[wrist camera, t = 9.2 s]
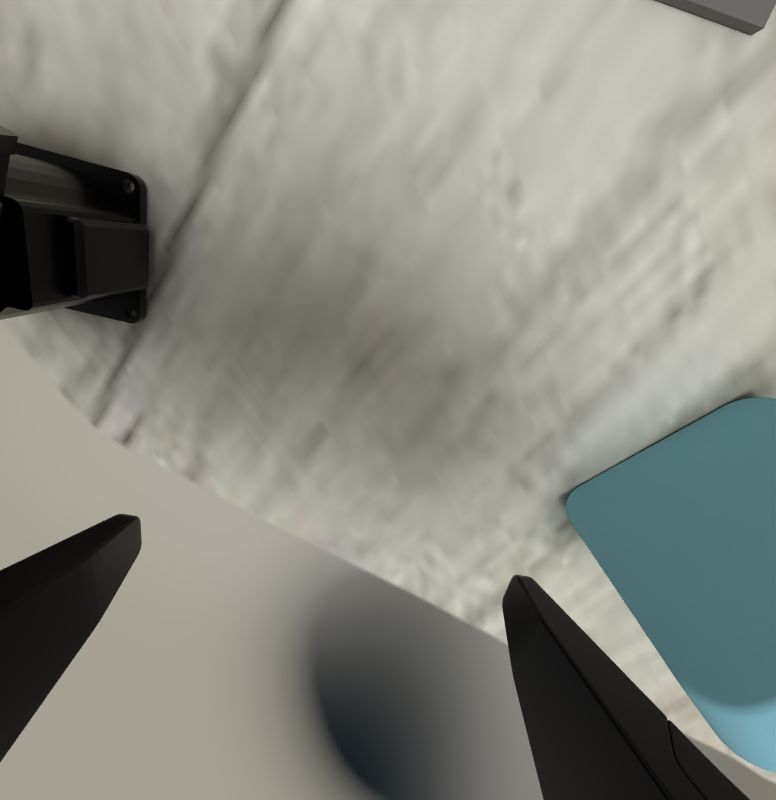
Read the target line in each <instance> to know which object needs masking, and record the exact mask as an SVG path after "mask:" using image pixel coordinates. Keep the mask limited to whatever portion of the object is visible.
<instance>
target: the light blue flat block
mask: <svg viewBox="0 0 776 800" xmlns="http://www.w3.org/2000/svg"><path fill="white" fill-rule="evenodd" d="M566 514H567V516H568V518H569V520H570V521H571V523H572V524H573V526H574V527H575V529H576V530H577V532H578V533H579V535H580V536H581V538H582V539H583V541H584V542H585V544H586V545H587V547H588V548H589V550H590V551H591V553H592V554H593V556H594V557H595V559H596V560H597V562H598V563H599V565H600V566H601V568H602V569H603V571H604V572H605V574H606V575H607V577H608V578H609V580H610V581H611V583H612V584H613V586H614V587H615V589H616V590H617V592H618V593H619V594H620V596H621V597H622V599H623V600H624V602H625V603H626V605H627V606H628V608H629V609H630V611H631V612H632V614H633V615H634V617H635V618H636V620H637V621H638V623H639V624H640V626H641V627H642V629H643V630H644V632H645V633H646V635H647V636H648V638H649V639H650V641H651V642H652V644H653V645H654V647H655V648H656V650H657V651H658V653H659V654H660V656H661V657H662V659H663V660H664V662H665V663H666V665H667V666H668V668H669V669H670V671H671V672H672V674H673V675H674V677H675V678H676V680H677V681H678V682H679V684H680V685H681V686H682V688H683V689H684V691H685V692H686V693H687V695H688V696H689V698H690V699H691V700H692V702H693V703H694V705H695V706H696V707H697V709H698V710H699V711H700V713H701V714H702V716H703V717H704V718H705V720H706V721H707V723H708V724H709V725H710V727H711V728H712V730H713V731H714V732H715V734H716V735H717V736H718V737H719V738H720V740H721V741H722V742H723V743H724V744H725V745H726V746H727V747H728V748H729V749H731V750H732V751H733V752H734V753H736V754H737V755H738V756H740V757H741V758H743V759H744V760H746V761H748V762H749V763H751V764H753V765H755V766H758V767H760V768H762V769H766V770H769V771H773V772H776V399H772V398H747V399H742V400H738V401H735V402H732V403H729V404H727V405H725V406H723V407H721V408H719V409H718V410H716V411H714V412H712V413H710V414H709V415H707V416H705V417H703V418H701V419H700V420H698V421H696V422H694V423H692V424H690V425H689V426H687V427H685V428H683V429H681V430H680V431H678V432H676V433H674V434H672V435H671V436H669V437H667V438H665V439H663V440H662V441H660V442H658V443H656V444H654V445H653V446H651V447H649V448H647V449H645V450H644V451H642V452H640V453H638V454H636V455H635V456H633V457H631V458H629V459H627V460H626V461H624V462H622V463H620V464H618V465H617V466H615V467H613V468H611V469H609V470H608V471H606V472H604V473H602V474H600V475H598V476H597V477H595V478H593V479H591V480H589V481H588V482H586V483H584V484H582V485H580V486H579V487H577V488H576V489H575V490H574V491H573V492H572V493H571V494H570V496H569V497H568V499H567V502H566Z"/></svg>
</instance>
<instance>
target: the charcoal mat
mask: <svg viewBox="0 0 776 800" xmlns="http://www.w3.org/2000/svg"><path fill="white" fill-rule="evenodd" d="M657 1H660V2H663V3H665V4H668V5H671V6H674V7H676V8H679V9H682V10H685V11H687V12H690V13H693V14H696V15H698V16H701V17H704V18H707V19H709V20H712V21H715V22H718V23H720V24H723V25H726V26H729V27H731V28H734V29H737V30H740V31H742V32H745V33H748V34H751V35H753V34H754V33H756V32H758V31H760V30H761V29H763V28H764V27H765V25H766V23H767V20H768V18H769V16H770V14H771V12H772V10H773V8H774V6H775V4H776V0H657Z"/></svg>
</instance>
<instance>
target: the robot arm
mask: <svg viewBox="0 0 776 800" xmlns="http://www.w3.org/2000/svg"><path fill="white" fill-rule="evenodd" d="M17 139H18V136H17V135H16V134H15V133H13V132H11V131H9V130H8V129H6V128H4V127H2V126H0V320H1V319H6V318H12V317H17V316H22V315H27V314H32V313H38V312H43V311H48V310H53V309H58V308H68V309H72V310H76V311H80V312H85V313H89V314H93V315H98V316H102V317H106V318H110V319H115V320H119V321H123V322H127V323H136V322H139V321H142V320H143V319H144V318H145V287H147V286H148V264H149V232H148V230H147V228H146V188H145V184H144V183H143V181H142V180H141V179H140V178H139V177H138V176H136V175H134V174H131V173H127V172H123V171H120V170H116V169H112V168H109V167H105V166H101V165H98V164H94V163H90V162H87V161H83V160H79V159H75V158H72V157H68V156H64V155H61V154H57V153H53V152H50V151H46V150H42V149H39V148H35V147H31V146H28V145H24V144H20V143H17ZM130 181H132V182H133V184H134V191H133V192H130V190H129V188H128V183H129V182H130ZM130 308H132V309H133V310H134V311H135V317H134V316H132V315H131V314H130V311H129V310H130ZM140 549H141V524H140V519H139V517H137V516H133V515H127V514H118V515H115V516H113V517H111V518H109V519H107V520H105V521H103V522H101V523H98V524H96V525H94V526H92V527H90V528H88V529H86V530H84V531H82V532H80V533H78V534H76V535H73V536H71V537H69V538H67V539H65V540H63V541H61V542H59V543H57V544H55V545H52V546H50V547H48V548H46V549H44V550H42V551H40V552H38V553H36V554H34V555H32V556H29V557H27V558H25V559H24V560H22V561H19V562H17V563H15V564H13V565H11V566H9V567H7V568H4V569H2V570H0V762H1V761H2V759H3V758H4V756H5V755H6V753H7V752H8V750H9V749H10V748H11V746H12V745H13V744H14V742H15V741H16V739H17V738H18V736H19V735H20V734H21V732H22V731H23V729H24V728H25V727H26V725H27V724H28V722H29V721H30V719H31V718H32V717H33V715H34V714H35V712H36V711H37V710H38V708H39V707H40V705H41V704H42V702H43V701H44V700H45V698H46V697H47V695H48V694H49V693H50V691H51V690H52V688H53V687H54V685H55V684H56V683H57V681H58V680H59V678H60V677H61V676H62V674H63V673H64V671H65V670H66V668H67V667H68V666H69V664H70V663H71V661H72V660H73V659H74V657H75V656H76V654H77V653H78V651H79V650H80V649H81V647H82V646H83V644H84V643H85V642H86V640H87V639H88V637H89V636H90V635H91V633H92V632H93V630H94V629H95V627H96V626H97V624H98V623H99V621H100V619H101V618H102V616H103V615H104V613H105V611H106V610H107V608H108V606H109V604H110V603H111V601H112V599H113V597H114V596H115V594H116V592H117V591H118V589H119V587H120V585H121V584H122V582H123V580H124V578H125V577H126V575H127V573H128V571H129V570H130V568H131V566H132V564H133V563H134V561H135V559H136V558H137V556H138V554H139V551H140ZM502 608H503V615H504V621H505V628H506V634H507V641H508V648H509V654H510V661H511V666H512V673H513V677H514V681H515V686H516V690H517V694H518V698H519V702H520V706H521V710H522V714H523V718H524V722H525V726H526V730H527V734H528V738H529V742H530V746H531V751H532V754H533V758H534V763H535V767H536V770H537V774H538V778H539V783H540V787H541V790H542V794H543V799H544V800H750V799H749V798H748V797H747V796H746V795H745V794H744V793H742V792H741V791H740V790H739V789H738V788H737V787H736V786H735V785H734V784H733V783H732V782H731V781H730V780H729V779H728V778H727V777H726V776H725V775H724V774H723V773H722V772H720V770H718V768H717V767H716V766H715V765H714V764H713V763H711V761H710V760H709V759H708V758H707V757H705V755H704V754H703V753H702V752H701V751H700V750H699V749H698V748H697V747H695V745H694V744H693V743H692V742H691V741H690V740H689V739H688V738H687V737H686V736H685V735H684V734H683V733H682V732H681V731H680V730H679V729H678V728H677V727H676V726H675V725H674V724H673V723H672V722H671V721H670V720H668V721H667V717H666V716H665V715H664V714H663V713H662V712H661V711H660V710H659V709H658V707H657V706H656V705H655V704H654V703H653V702H652V701H651V700H650V699H649V698H648V697H647V696H646V695H645V694H644V693H643V692H642V691H641V690H640V689H639V688H638V687H637V686H636V685H635V684H634V683H633V682H632V681H631V680H630V679H629V678H628V677H627V675H626V674H625V673H624V672H623V671H622V670H621V669H620V668H619V667H618V666H617V665H616V664H615V663H614V662H613V661H612V660H611V659H610V658H609V657H608V656H607V655H606V654H605V653H604V652H603V651H602V650H601V649H600V648H599V647H598V646H597V645H596V643H595V642H594V641H593V640H592V639H591V638H590V637H589V636H588V635H587V634H586V633H585V632H584V631H583V630H582V629H581V628H580V627H579V626H578V625H577V624H576V623H575V622H574V621H573V620H572V619H571V618H570V617H569V616H568V615H567V614H566V613H565V612H564V610H563V609H562V608H561V607H560V606H559V605H558V604H557V603H556V602H555V601H554V600H553V599H552V598H551V597H550V596H549V595H548V594H547V593H546V592H545V591H544V590H543V589H542V588H541V587H540V586H539V585H538V584H537V583H536V582H535V581H534V580H533V579H532V578H531V577H528V576H521V575H515V576H513V577H512V579H511V581H510V583H509V586H508V588H507V590H506V592H505V595H504V597H503V602H502Z"/></svg>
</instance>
